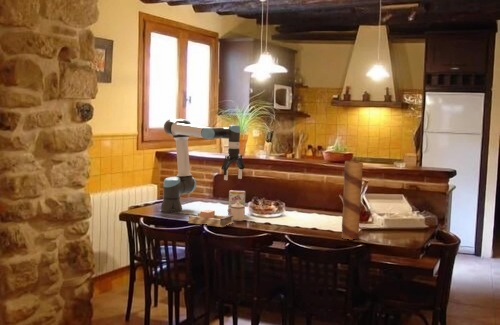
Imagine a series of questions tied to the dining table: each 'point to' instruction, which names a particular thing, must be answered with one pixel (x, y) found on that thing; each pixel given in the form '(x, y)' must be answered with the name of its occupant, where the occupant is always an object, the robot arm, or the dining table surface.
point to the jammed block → (207, 214)
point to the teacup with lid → (237, 211)
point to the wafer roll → (351, 199)
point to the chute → (212, 220)
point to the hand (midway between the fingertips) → (232, 179)
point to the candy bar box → (236, 198)
